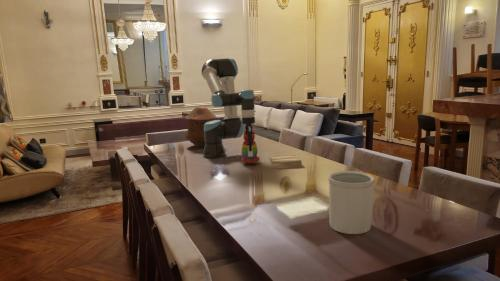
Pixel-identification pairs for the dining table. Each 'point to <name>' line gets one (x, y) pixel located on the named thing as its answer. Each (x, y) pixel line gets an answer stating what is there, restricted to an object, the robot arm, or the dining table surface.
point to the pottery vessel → (198, 125)
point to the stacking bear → (245, 150)
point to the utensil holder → (350, 201)
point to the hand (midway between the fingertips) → (249, 154)
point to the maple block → (285, 161)
